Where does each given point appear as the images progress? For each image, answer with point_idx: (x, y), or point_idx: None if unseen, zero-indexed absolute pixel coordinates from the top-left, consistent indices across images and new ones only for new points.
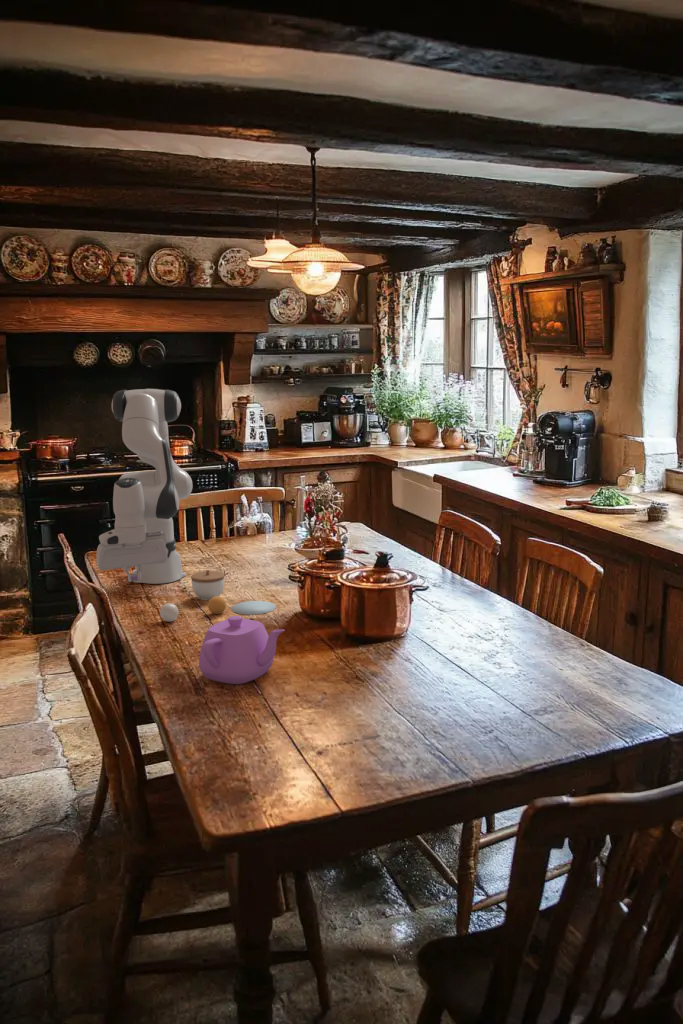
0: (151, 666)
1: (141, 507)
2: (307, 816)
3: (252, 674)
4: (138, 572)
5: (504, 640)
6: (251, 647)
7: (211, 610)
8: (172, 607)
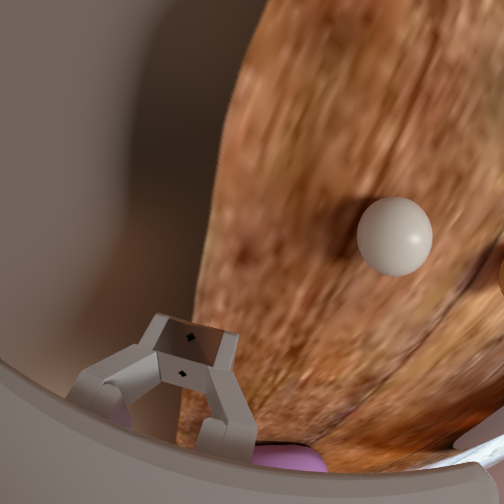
0: (194, 400)
1: None
2: None
3: None
4: (214, 418)
5: (491, 457)
6: None
7: (499, 276)
8: (398, 275)
